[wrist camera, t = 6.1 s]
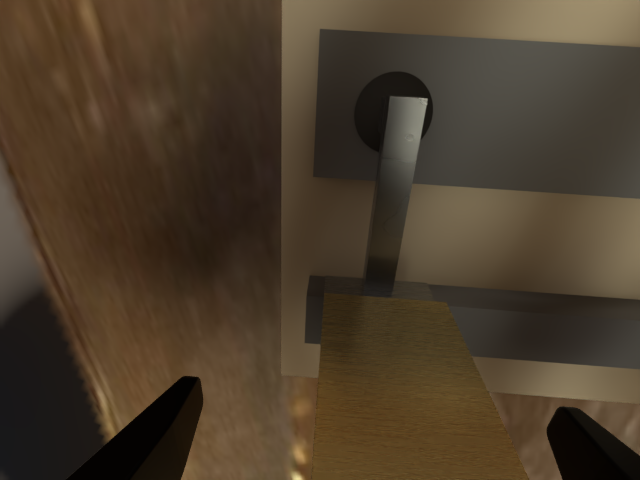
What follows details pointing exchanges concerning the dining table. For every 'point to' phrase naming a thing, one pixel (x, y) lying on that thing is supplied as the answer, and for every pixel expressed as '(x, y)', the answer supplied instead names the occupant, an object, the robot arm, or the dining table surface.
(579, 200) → the board with grey bars
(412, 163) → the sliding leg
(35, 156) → the dining table surface
